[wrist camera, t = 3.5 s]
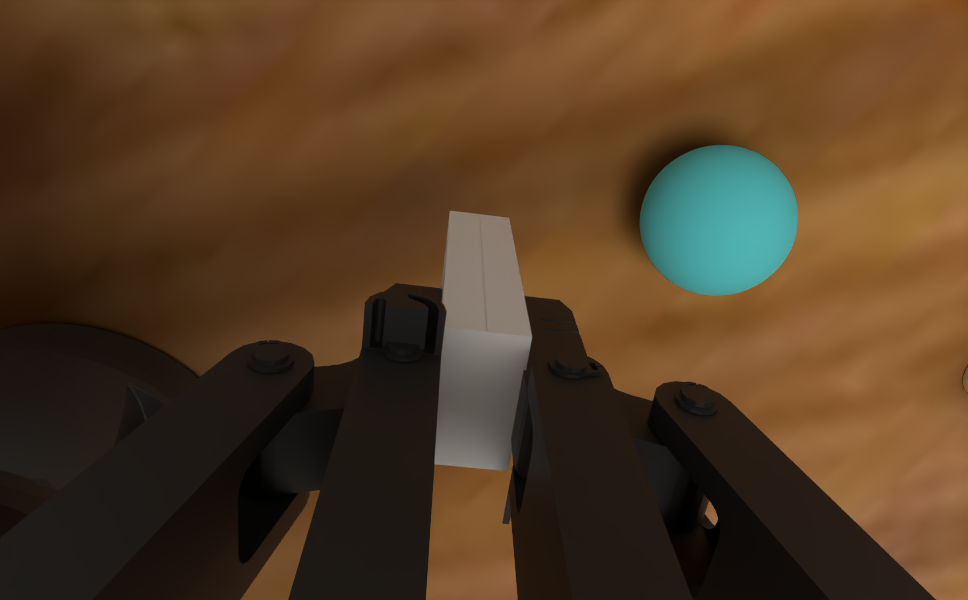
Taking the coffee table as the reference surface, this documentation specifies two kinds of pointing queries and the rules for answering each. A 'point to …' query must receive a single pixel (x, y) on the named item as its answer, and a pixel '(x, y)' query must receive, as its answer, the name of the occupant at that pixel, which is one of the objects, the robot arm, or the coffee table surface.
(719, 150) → the ball
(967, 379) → the post
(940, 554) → the coffee table surface
